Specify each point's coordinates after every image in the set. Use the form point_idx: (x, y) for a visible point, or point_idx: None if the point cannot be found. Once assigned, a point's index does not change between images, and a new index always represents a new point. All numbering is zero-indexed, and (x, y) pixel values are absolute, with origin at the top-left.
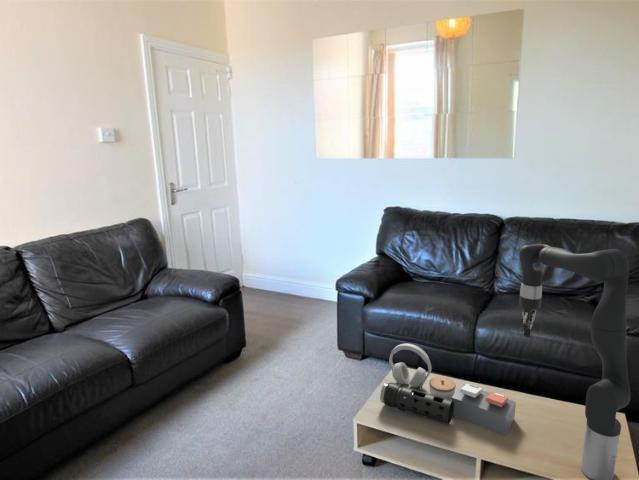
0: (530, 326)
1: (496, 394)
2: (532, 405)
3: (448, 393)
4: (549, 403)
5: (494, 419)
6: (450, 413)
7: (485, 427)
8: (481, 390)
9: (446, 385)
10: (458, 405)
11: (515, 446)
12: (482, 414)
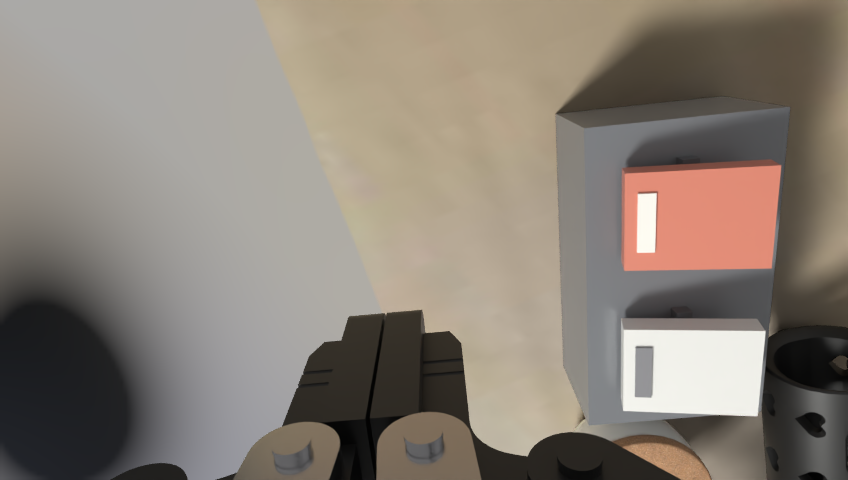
0: (457, 466)
1: (654, 239)
2: (359, 89)
3: (676, 437)
4: (269, 22)
5: None
6: (775, 356)
7: None
8: (639, 325)
9: None
10: None
11: (775, 20)
12: None
